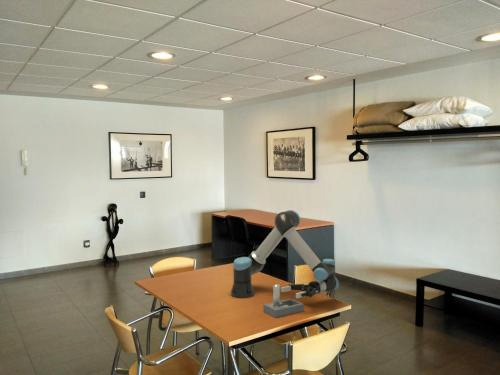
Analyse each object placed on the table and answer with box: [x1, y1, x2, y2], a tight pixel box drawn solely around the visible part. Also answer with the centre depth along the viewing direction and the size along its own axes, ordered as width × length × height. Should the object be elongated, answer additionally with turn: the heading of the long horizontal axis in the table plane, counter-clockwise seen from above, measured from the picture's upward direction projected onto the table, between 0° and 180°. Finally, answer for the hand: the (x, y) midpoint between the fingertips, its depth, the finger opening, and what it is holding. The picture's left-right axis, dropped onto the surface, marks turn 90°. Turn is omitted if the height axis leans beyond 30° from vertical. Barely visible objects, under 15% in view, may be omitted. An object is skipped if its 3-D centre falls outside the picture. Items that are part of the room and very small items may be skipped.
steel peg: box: [272, 283, 281, 307], centre depth 225 cm, size 5×5×16 cm
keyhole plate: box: [262, 298, 305, 319], centre depth 228 cm, size 20×12×4 cm, turn 122°
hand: (288, 292), depth 230 cm, fingers open, 13 cm apart
